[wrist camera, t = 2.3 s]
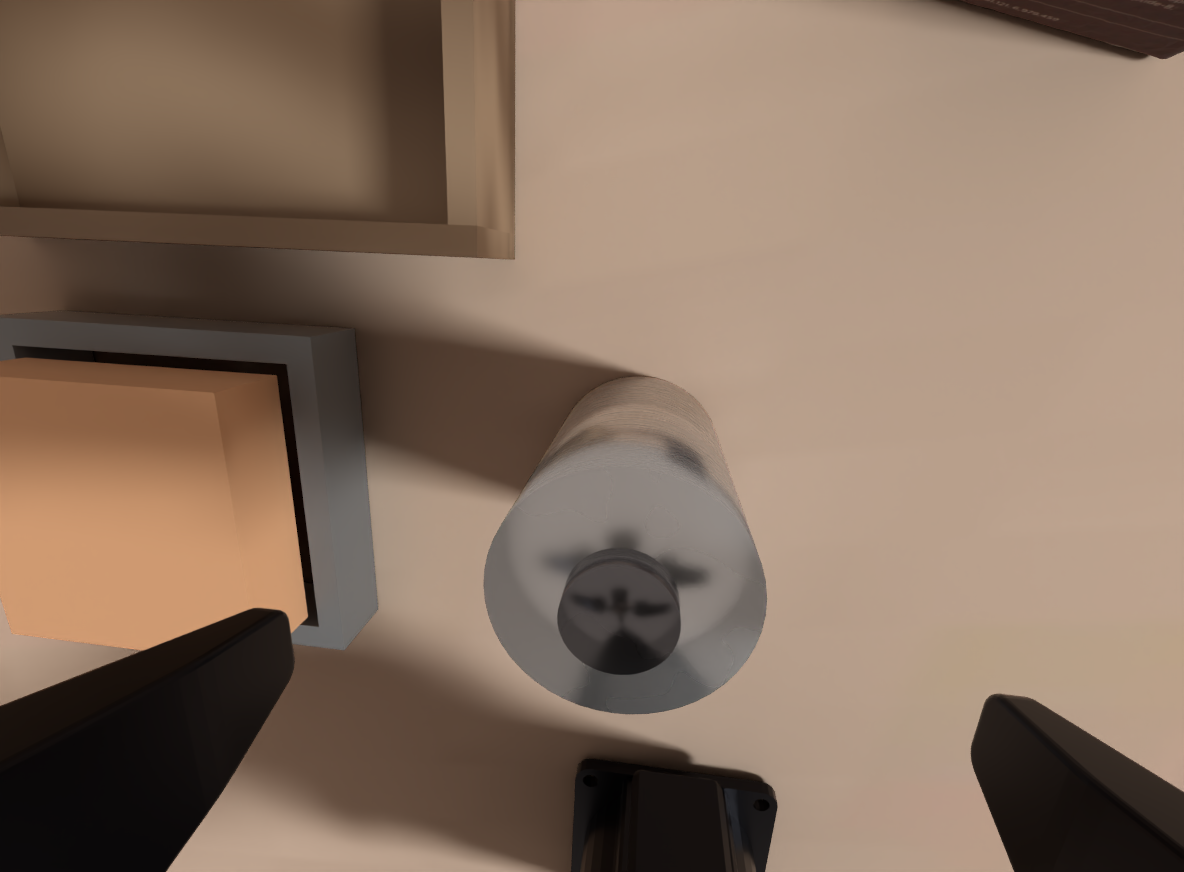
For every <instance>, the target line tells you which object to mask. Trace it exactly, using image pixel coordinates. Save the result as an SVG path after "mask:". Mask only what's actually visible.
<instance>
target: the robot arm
mask: <svg viewBox="0 0 1184 872" xmlns="http://www.w3.org/2000/svg"><path fill="white" fill-rule="evenodd" d="M294 662H295V659H294V651H293V644H292V637H291V629H290V622H289V618H288V616H287V614H286V613H285V612H283V611H281V610H276V609H267V608H251V609H248V610H246V611H243V612H241V613H238V614H236V615H233V616H230V617H228V618H225V619H223V620H220V621H218V622H215V623H212V624H210V625H207V626H205V627H202V628H200V629H197V630H194V631H192V632H189V633H187V634H184V635H182V636H179V637H176V638H174V639H171V640H169V641H166V642H164V643H161V644H158V645H156V646H153V647H151V648H148V649H146V650H143V651H140V652H138V653H135V654H133V655H130V656H128V657H125V658H122V659H120V660H117V661H115V662H112V663H110V664H107V665H104V666H102V667H99V668H97V669H94V670H92V671H89V672H86V673H84V674H81V675H79V676H76V677H74V678H71V679H68V680H66V681H63V682H61V683H58V684H56V685H53V686H50V687H48V688H45V689H43V690H40V691H38V692H35V693H32V694H30V695H27V696H25V697H22V698H20V699H17V700H14V701H12V702H9V703H7V704H4V705H2V706H0V872H166V871H167V870H168V868H169V867H170V865H171V864H172V863H173V861H174V860H175V858H176V857H177V856H178V854H179V853H180V851H181V850H182V849H183V847H184V846H185V844H186V843H187V842H188V840H189V839H190V837H191V836H192V835H193V833H194V832H195V830H196V829H197V828H198V826H199V825H200V823H201V822H202V821H203V819H204V818H205V816H206V815H207V814H208V812H209V811H210V809H211V808H212V806H213V805H214V803H215V802H216V800H217V799H218V798H219V796H220V795H221V793H222V792H223V790H224V788H225V787H226V785H227V784H228V782H229V781H230V779H231V777H232V776H233V774H234V773H235V771H236V769H237V768H238V766H239V764H240V763H241V761H242V759H243V758H244V756H245V754H246V753H247V751H248V749H249V747H250V746H251V744H252V742H253V741H254V739H255V737H256V736H257V734H258V732H259V731H260V729H261V727H262V726H263V724H264V722H265V721H266V719H267V717H268V716H269V714H270V712H271V711H272V709H273V707H274V706H275V704H276V702H277V701H278V699H279V697H280V696H281V694H282V692H283V691H284V689H285V687H286V685H287V684H288V682H289V680H290V678H291V676H292V673H293V669H294ZM971 761H972V765H973V769H974V772H975V774H976V777H977V779H978V782H979V784H980V787H981V789H982V792H983V794H984V797H985V799H986V802H987V804H988V807H989V809H990V812H991V814H992V817H993V819H994V822H995V825H996V827H997V830H998V832H999V835H1000V837H1001V840H1002V842H1003V845H1004V847H1005V850H1006V852H1007V855H1008V857H1009V860H1010V862H1011V865H1012V867H1013V870H1014V872H1184V792H1183V791H1181V790H1180V789H1178V788H1176V787H1175V786H1173V785H1172V784H1170V783H1168V782H1167V781H1165V780H1163V779H1162V778H1160V777H1159V776H1157V775H1155V774H1154V773H1152V772H1150V771H1149V770H1147V769H1146V768H1144V767H1142V766H1141V765H1139V764H1138V763H1136V762H1134V761H1133V760H1131V759H1129V758H1128V757H1126V756H1125V755H1123V754H1121V753H1120V752H1118V751H1116V750H1115V749H1113V748H1112V747H1110V746H1108V745H1107V744H1105V743H1104V742H1102V741H1100V740H1099V739H1097V738H1095V737H1094V736H1092V735H1091V734H1089V733H1087V732H1086V731H1084V730H1082V729H1081V728H1079V727H1078V726H1076V725H1074V724H1073V723H1071V722H1069V721H1068V720H1066V719H1065V718H1063V717H1061V716H1060V715H1058V714H1057V713H1055V712H1053V711H1052V710H1050V709H1048V708H1047V707H1045V706H1044V705H1042V704H1040V703H1039V702H1037V701H1035V700H1033V699H1031V698H1028V697H1023V696H1014V695H1005V694H993V695H991V696H989V697H988V698H987V699H986V701H985V703H984V706H983V709H982V713H981V716H980V719H979V722H978V725H977V729H976V732H975V735H974V738H973V741H972V745H971ZM589 775H592V776H589ZM758 799H762V800H758ZM776 812H777V800H776V796H775V791H774V790H773V788H772V787H771V786H770V785H768V784H766V783H763V782H757V781H750V780H743V779H736V778H728V777H721V776H714V775H707V774H699V773H692V772H685V771H677V770H670V769H663V768H656V767H648V766H641V765H634V764H626V763H619V762H612V761H605V760H597V759H585V760H583V761H581V762H580V763H579V764H578V768H577V773H576V779H575V801H574V823H573V844H572V866H571V872H765V869H766V864H767V858H768V853H769V848H770V843H771V838H772V833H773V828H774V822H775V817H776Z"/></svg>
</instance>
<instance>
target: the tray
mask: <svg viewBox="0 0 1184 872" xmlns="http://www.w3.org/2000/svg"><path fill="white" fill-rule="evenodd" d="M0 236H19V237H40V238H61V239H83V240H105V241H126V242H148V243H169V244H191V245H213V246H234V247H256V248H277V249H299V250H321V251H342V252H364V253H385V254H407V255H428V256H450V257H472V258H493V259H515V0H0Z"/></svg>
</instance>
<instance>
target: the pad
mask: <svg viewBox="0 0 1184 872" xmlns="http://www.w3.org/2000/svg"><path fill="white" fill-rule="evenodd" d="M0 598H1V601H2V604H3V607H4V610H5V613H6V616H7V620H8V623H9V626H10V629H11V632H12V634H19V635H27V636H34V637H42V638H50V639H58V640H66V641H73V642H81V643H89V644H97V645H105V646H113V647H120V648H128V649H136V650H146V649H148V648H151V647H153V646H156V645H158V644H161V643H164V642H166V641H169V640H171V639H174V638H176V637H179V636H182V635H184V634H187V633H189V632H192V631H194V630H197V629H200V628H202V627H205V626H207V625H210V624H212V623H215V622H218V621H220V620H223V619H225V618H228V617H230V616H233V615H236V614H238V613H241V612H243V611H246V610H248V609H251V608H267V609H276V610H281V611H283V612H285V613H286V614H287V616H288V618H289V622H290V629H291V633H292V632H293V631H294V630H295V629H296V628H297V627H298V626H299V625H300V624H301V623H302V622H303V621H304V620H305V619H306V618H307V617H308V613H307V605H306V598H305V590H304V582H303V575H302V567H301V559H300V551H299V544H298V536H297V528H296V520H295V513H294V505H293V497H292V490H291V482H290V474H289V466H288V459H287V451H286V443H285V435H284V428H283V420H282V412H281V404H280V397H279V389H278V381H277V375H265V374H251V373H237V372H223V371H209V370H194V369H180V368H166V367H152V366H138V365H124V364H110V363H96V362H82V361H68V360H54V359H40V358H26V357H25V358H18V359H11V360H4V361H0Z"/></svg>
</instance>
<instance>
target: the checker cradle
mask: <svg viewBox="0 0 1184 872" xmlns="http://www.w3.org/2000/svg"><path fill="white" fill-rule="evenodd" d="M92 351H103V352H118V353H132V354H147V355H162V356H176V357H191V358H205V359H220V360H234V361H249V362H263V363H278V364H287V371H288V380H289V388H290V396H291V404H292V412H293V420H294V428H295V436H296V445H297V453H298V461H299V469H300V477H301V485H302V493H303V501H304V509H305V518H306V526H307V534H308V542H309V550H310V558H311V566H312V574H313V583H314V584H313V583H304V590H305V598H306V605H307V613H308V617H307V618H306V619H305V620H304V621H303V622H302V623H301V624H300V625H299V626H298V627H297V628H296V629H295V630H294V631H293V632H292V633H291V637H292V644H297V645H305V646H313V647H322V648H330V649H338V650H345V649H346V648H347V646H348V645H349V644H350V643H351V642H352V640H353V639H354V638H355V637H356V636H357V634H358V633H359V632H360V631H361V629H362V628H363V627H364V626H365V625H366V623H367V622H368V621H369V620H370V619H371V617H372V616H373V615H374V614H375V613H376V611H377V610H378V602H377V590H376V578H375V566H374V554H373V542H372V530H371V518H370V507H369V495H368V483H367V471H366V459H365V447H364V435H363V423H362V411H361V400H360V388H359V376H358V364H357V352H356V340H355V328H340V327H323V326H307V325H290V324H274V323H258V322H241V321H225V320H208V319H192V318H176V317H159V316H143V315H126V314H110V313H94V312H77V311H48V312H34V313H19V314H5V315H0V361H4V360H11V359H18V358H25V357H26V358H40V359H54V360H68V361H82V362H95V361H94V357H93V353H92Z"/></svg>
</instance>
